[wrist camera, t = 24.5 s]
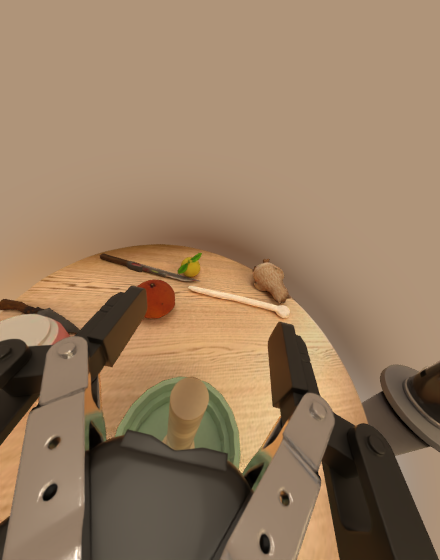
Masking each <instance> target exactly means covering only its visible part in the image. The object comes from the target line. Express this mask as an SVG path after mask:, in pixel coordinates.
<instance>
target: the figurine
mask: <svg viewBox="0 0 440 560" xmlns="http://www.w3.org/2000/svg"><path fill="white" fill-rule="evenodd" d="M253 277H254V279H255V281H256V283H254V286H255V287H256V288H257V289H258V290H259V291H268V292H270V293H271V294H272V296H273V298H274V299H275V300H276V301H277V302H278V303H279V304H281V302H285V301H286V299H287V298H291V297H290V296H289V295H288V291H287V289H286V288H285V286H284V284H283V278H284V274H283V272H282V270H281V269H280V268H279V267H276V266H275V265H273V264H271V263H269V259H267V260H265V259H264V260H263V263H262V264H260V265H258V266H257V267H256V266H255V267H254V269H253Z"/></svg>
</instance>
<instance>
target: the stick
mask: <svg viewBox="0 0 440 560" xmlns="http://www.w3.org/2000/svg"><path fill="white" fill-rule="evenodd" d="M208 402H209V393H208V390H207V387H206V386H205V384H204V383H203V382H202V381H201V380H199V379H197V378H194V377H187V378H184V379H182V380H180V381H179V382H178V383H177V384H176V385H175V386H174V387H173V389H172V391H171V395H170V404H169V417H168V431H167V435H166V436H165V438H164V439H163V441H162V442H163V443H165V444H166V445H167V446H169V447H170V448H172V449H174V450H185V449H194V448H195V445H194V437H195V435H196V433H197V430H198V428H199V425H200V423H201V420H202V418H203V415H204V413H205V411H206V408H207V405H208Z"/></svg>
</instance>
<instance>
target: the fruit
mask: <svg viewBox="0 0 440 560" xmlns="http://www.w3.org/2000/svg"><path fill="white" fill-rule="evenodd" d="M137 287H141V288H145V289H146V293H147V312H146V314H145V316H144V317H145V318H160V317H162V316H164V315H166V314H168V313H169V312H170V311H171V310H172V309H173V308H174V306H175V294H174V291H173V289H172V287H171V286H170V285H169V284H167V283H166V282H164V281H162V280H149V281H146V282H143V283H141V284H140V285H138V286H137Z"/></svg>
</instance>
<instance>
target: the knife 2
mask: <svg viewBox="0 0 440 560" xmlns="http://www.w3.org/2000/svg"><path fill="white" fill-rule="evenodd" d="M100 258H101V259H104V260H107V261H111V262H114V263H118V264H121V265H125V266H127V267H128V268H129V269H132V270H135V271H138V272H142V271H146V272H149V273H153V274H156V275H160V276H163V277H166V276H167V277H171V278H174V279H178V280H182V281H199V280H196V279H192V278H189V277H185V276H181V275H178V274H174V273H171V272H167V271H164V270H160V269H156V268H153V267H150V266H146V265H143V264H139V263H135V262H132V261H127V260H124V259H120V258H117V257H113V256H110V255H106V254H101V255H100Z"/></svg>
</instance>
